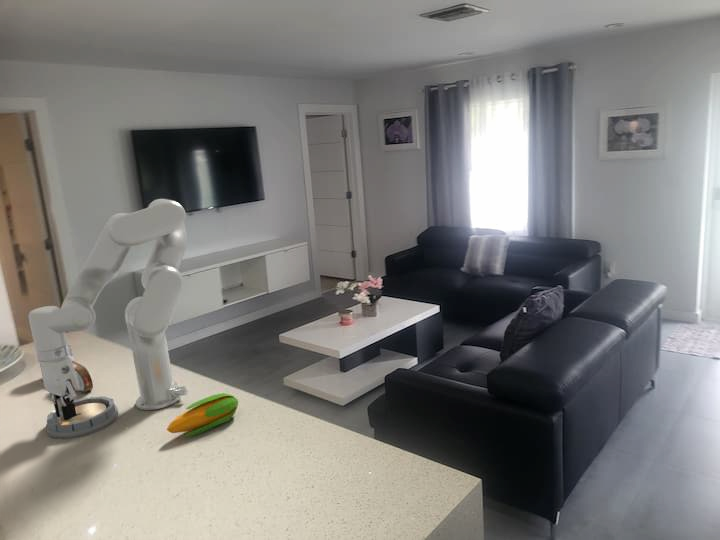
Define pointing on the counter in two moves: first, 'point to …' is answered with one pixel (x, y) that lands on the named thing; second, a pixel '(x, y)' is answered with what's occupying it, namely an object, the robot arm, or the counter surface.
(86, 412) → the dial
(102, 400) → the dial housing
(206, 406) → the corn
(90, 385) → the tin
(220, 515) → the counter surface
